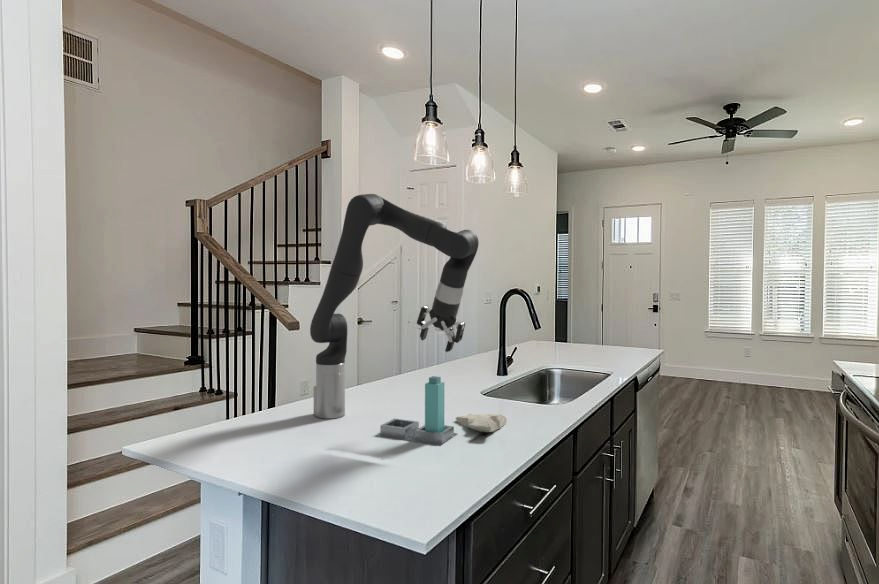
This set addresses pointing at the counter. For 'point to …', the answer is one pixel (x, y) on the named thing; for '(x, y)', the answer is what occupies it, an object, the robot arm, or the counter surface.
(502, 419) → the rock
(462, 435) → the counter surface
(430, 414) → the plug
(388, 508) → the counter surface
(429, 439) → the panel
